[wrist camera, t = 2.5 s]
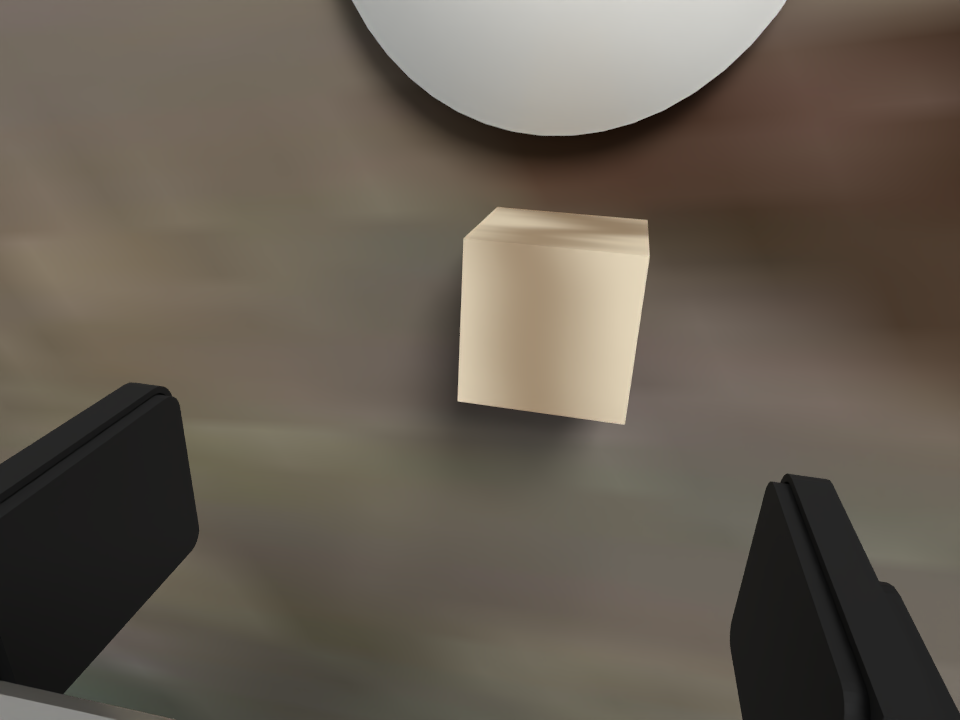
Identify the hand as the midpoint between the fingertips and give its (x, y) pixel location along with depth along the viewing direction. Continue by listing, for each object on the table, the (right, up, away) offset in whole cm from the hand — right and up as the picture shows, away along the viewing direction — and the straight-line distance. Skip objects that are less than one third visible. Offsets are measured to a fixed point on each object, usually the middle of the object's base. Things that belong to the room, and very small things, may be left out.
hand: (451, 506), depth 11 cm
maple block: (+3, +5, +13) cm, 14 cm away
